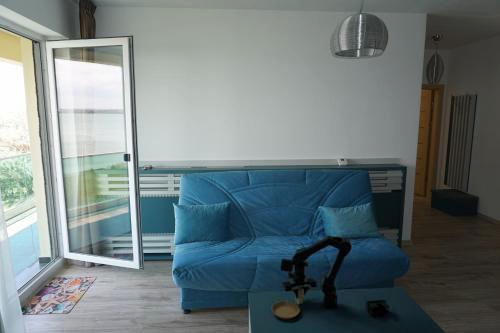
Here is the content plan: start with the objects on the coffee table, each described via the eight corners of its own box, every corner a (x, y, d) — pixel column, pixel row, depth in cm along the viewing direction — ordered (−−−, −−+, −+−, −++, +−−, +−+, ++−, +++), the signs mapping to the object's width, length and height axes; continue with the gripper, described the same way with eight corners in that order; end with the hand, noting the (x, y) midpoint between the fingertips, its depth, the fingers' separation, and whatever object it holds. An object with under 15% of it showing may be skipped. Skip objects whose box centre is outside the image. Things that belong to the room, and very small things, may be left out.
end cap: (382, 308, 178) (383, 297, 177) (389, 316, 172) (390, 304, 170) (364, 309, 178) (365, 298, 176) (370, 317, 171) (371, 305, 169)
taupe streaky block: (299, 298, 189) (300, 285, 187) (303, 303, 184) (303, 290, 183) (295, 299, 188) (295, 286, 187) (298, 304, 183) (298, 290, 182)
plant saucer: (298, 323, 167) (298, 318, 166) (269, 320, 170) (269, 315, 169) (300, 307, 181) (300, 302, 181) (273, 304, 184) (273, 299, 184)
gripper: (309, 264, 193) (308, 289, 196) (278, 268, 188) (278, 293, 191) (317, 272, 183) (317, 299, 185) (285, 277, 178) (285, 304, 180)
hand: (299, 298), depth 186 cm, fingers closed on taupe streaky block, 3 cm apart
